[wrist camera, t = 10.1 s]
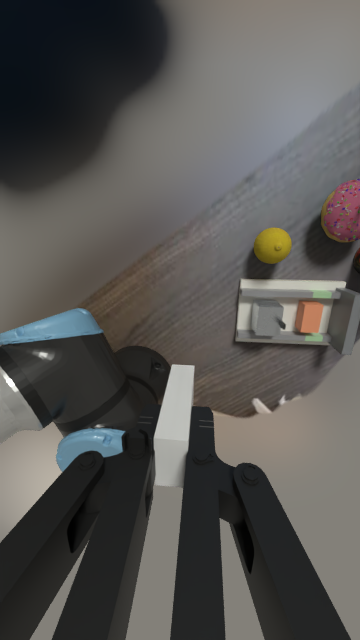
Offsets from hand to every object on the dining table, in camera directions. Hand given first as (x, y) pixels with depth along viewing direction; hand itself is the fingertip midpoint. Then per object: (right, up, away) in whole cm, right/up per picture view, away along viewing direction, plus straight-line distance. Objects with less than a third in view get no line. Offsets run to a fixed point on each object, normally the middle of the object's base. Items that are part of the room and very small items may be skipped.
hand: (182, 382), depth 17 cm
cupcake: (+26, +22, +25) cm, 42 cm away
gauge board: (+20, +6, +30) cm, 37 cm away
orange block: (+23, +5, +29) cm, 37 cm away
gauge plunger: (+15, +6, +29) cm, 34 cm away
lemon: (+15, +18, +27) cm, 36 cm away
